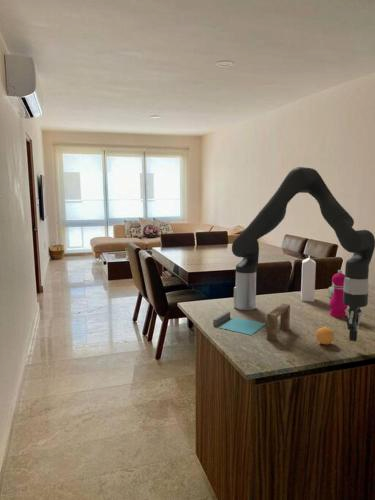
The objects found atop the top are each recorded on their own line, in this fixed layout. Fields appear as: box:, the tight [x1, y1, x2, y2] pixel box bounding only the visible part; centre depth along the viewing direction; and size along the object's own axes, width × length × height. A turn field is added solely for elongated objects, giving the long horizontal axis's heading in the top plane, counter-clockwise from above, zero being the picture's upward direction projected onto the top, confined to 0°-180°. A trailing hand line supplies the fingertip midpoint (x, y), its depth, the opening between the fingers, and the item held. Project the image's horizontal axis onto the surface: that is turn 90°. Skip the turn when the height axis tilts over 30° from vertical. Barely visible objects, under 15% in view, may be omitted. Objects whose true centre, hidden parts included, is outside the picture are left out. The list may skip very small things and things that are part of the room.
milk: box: [300, 255, 317, 302], centre depth 183 cm, size 6×6×22 cm
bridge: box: [266, 303, 291, 342], centre depth 141 cm, size 3×15×10 cm, turn 145°
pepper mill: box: [328, 269, 348, 318], centre depth 160 cm, size 7×7×20 cm
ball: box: [315, 326, 335, 346], centre depth 131 cm, size 6×6×6 cm
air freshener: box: [327, 280, 334, 299], centre depth 185 cm, size 11×8×10 cm
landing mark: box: [219, 317, 267, 336], centre depth 150 cm, size 14×14×1 cm
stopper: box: [212, 311, 231, 327], centre depth 155 cm, size 1×12×2 cm, turn 145°
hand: (353, 340), depth 126 cm, fingers closed
